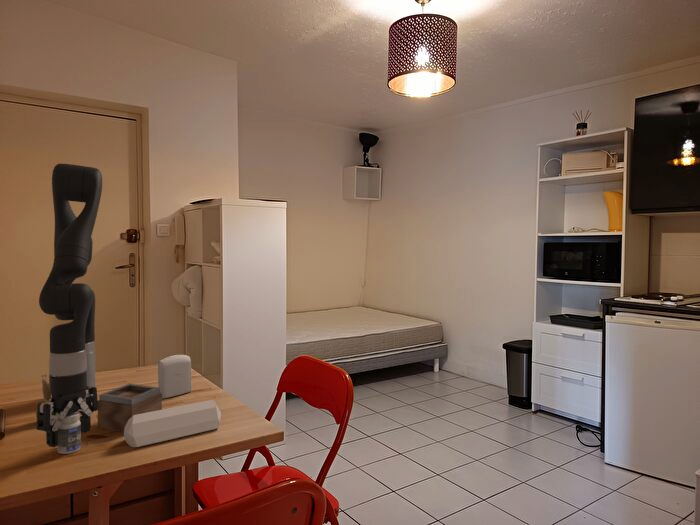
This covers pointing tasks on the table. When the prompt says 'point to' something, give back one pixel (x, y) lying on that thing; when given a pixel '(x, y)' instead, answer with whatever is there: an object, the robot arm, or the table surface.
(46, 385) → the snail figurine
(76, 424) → the pill bottle
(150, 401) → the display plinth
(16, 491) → the table surface
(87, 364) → the robot arm
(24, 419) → the table surface
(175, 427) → the crystal
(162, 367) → the photo printer
